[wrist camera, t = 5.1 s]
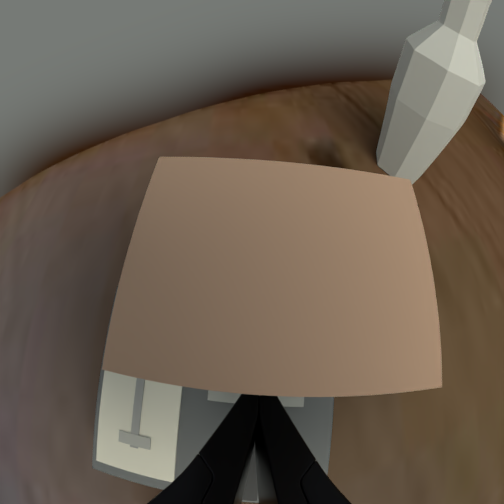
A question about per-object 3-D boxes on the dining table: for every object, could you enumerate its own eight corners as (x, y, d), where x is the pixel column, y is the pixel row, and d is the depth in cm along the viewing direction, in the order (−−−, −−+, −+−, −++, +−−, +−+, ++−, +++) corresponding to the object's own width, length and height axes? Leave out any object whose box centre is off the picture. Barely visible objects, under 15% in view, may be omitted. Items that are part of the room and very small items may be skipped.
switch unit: (311, 484, 12) (325, 503, 9) (115, 459, 12) (90, 468, 9) (321, 320, 17) (337, 304, 14) (136, 303, 17) (115, 284, 14)
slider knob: (298, 405, 11) (440, 427, 2) (211, 399, 12) (96, 412, 2) (302, 319, 13) (402, 157, 4) (220, 313, 13) (167, 135, 4)
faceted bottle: (423, 203, 21) (541, -33, 1) (357, 167, 22) (431, -92, 3) (432, 161, 23) (516, -31, 4) (375, 130, 25) (434, -74, 5)
